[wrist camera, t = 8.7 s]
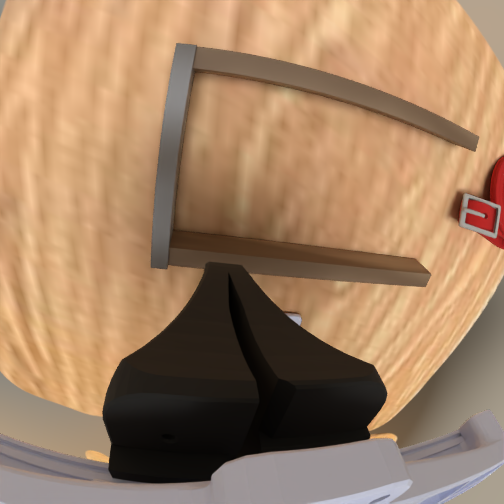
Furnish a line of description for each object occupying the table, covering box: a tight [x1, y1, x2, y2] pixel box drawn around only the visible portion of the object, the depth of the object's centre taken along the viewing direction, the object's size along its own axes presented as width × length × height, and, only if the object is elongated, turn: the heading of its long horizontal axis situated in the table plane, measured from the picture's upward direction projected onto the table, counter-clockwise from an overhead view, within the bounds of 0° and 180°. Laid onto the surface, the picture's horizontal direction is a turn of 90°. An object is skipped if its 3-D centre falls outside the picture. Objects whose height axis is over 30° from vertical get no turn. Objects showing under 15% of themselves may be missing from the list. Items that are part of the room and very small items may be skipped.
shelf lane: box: [151, 43, 479, 287], centre depth 19 cm, size 13×20×3 cm, turn 79°
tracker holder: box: [458, 156, 504, 249], centre depth 22 cm, size 12×4×10 cm
